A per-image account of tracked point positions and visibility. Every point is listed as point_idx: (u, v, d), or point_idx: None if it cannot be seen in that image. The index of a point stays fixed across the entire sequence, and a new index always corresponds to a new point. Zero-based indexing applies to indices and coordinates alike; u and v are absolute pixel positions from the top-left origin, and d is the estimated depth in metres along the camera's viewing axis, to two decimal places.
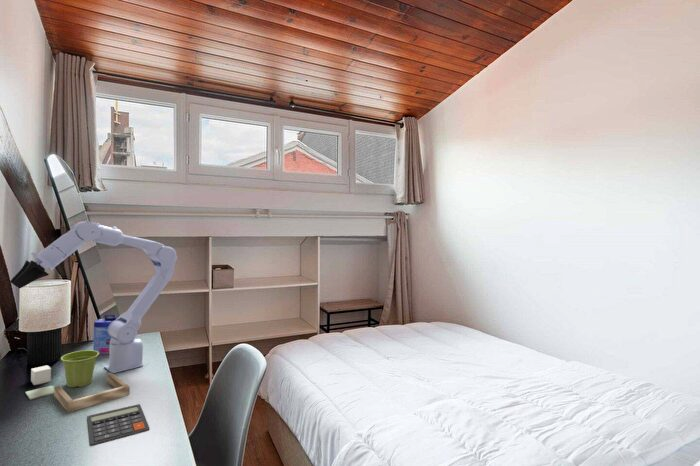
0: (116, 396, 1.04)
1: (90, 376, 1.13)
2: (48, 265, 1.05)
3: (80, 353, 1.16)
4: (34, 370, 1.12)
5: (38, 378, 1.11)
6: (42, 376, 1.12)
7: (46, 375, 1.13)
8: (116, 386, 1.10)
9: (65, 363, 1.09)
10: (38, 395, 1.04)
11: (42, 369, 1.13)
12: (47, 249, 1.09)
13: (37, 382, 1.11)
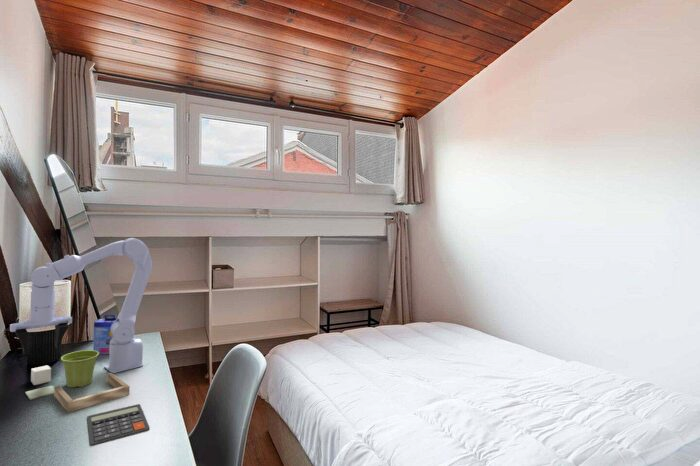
0: (116, 396, 1.04)
1: (90, 376, 1.13)
2: (10, 327, 1.07)
3: (80, 353, 1.16)
4: (34, 370, 1.12)
5: (38, 378, 1.11)
6: (42, 376, 1.12)
7: (46, 375, 1.13)
8: (116, 386, 1.10)
9: (65, 363, 1.09)
10: (38, 395, 1.04)
11: (42, 369, 1.13)
12: None
13: (37, 382, 1.11)
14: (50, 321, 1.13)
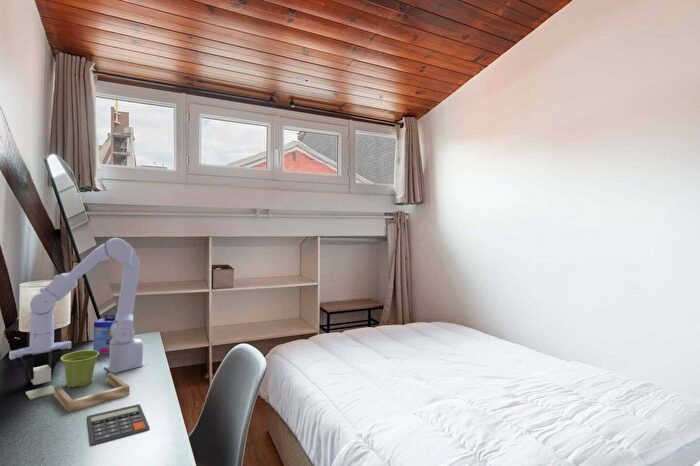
0: (116, 396, 1.04)
1: (90, 376, 1.13)
2: (10, 355, 1.07)
3: (80, 353, 1.16)
4: (34, 370, 1.12)
5: (38, 378, 1.11)
6: (42, 376, 1.12)
7: (46, 375, 1.13)
8: (116, 386, 1.10)
9: (65, 363, 1.09)
10: (38, 395, 1.04)
11: (42, 369, 1.13)
12: None
13: (37, 382, 1.11)
14: (49, 347, 1.13)
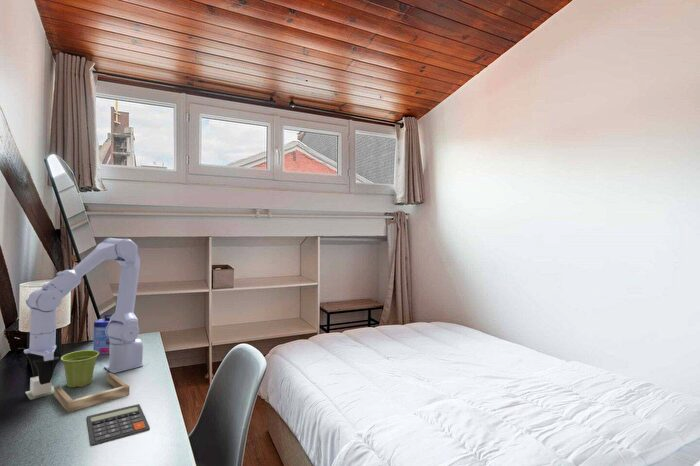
0: (116, 396, 1.04)
1: (90, 376, 1.13)
2: (51, 355, 1.02)
3: (80, 353, 1.16)
4: None
5: None
6: None
7: None
8: (116, 386, 1.10)
9: (65, 363, 1.09)
10: (38, 395, 1.04)
11: None
12: (33, 340, 1.03)
13: (50, 388, 1.07)
14: None
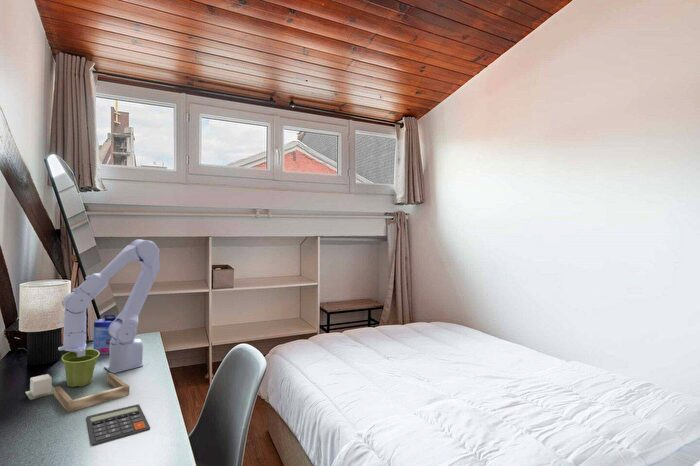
0: (116, 396, 1.04)
1: (90, 376, 1.13)
2: (83, 352, 1.12)
3: None
4: (44, 379, 1.05)
5: None
6: None
7: None
8: (116, 386, 1.10)
9: (66, 363, 1.08)
10: (38, 395, 1.04)
11: (45, 376, 1.07)
12: (67, 339, 1.14)
13: (50, 388, 1.07)
14: None
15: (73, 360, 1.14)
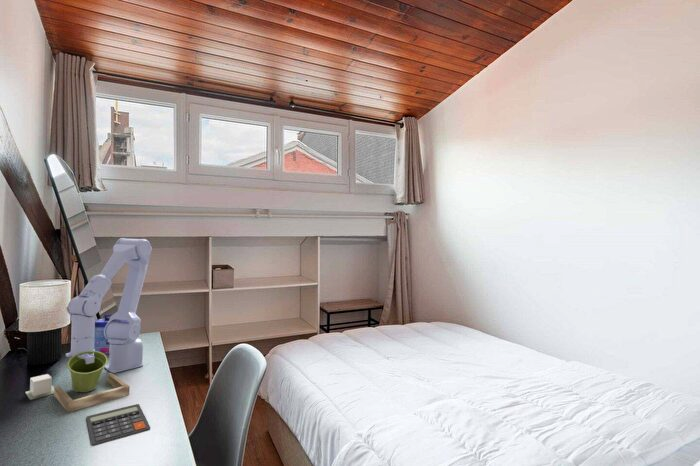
0: (116, 396, 1.04)
1: (97, 381, 1.09)
2: (92, 359, 1.07)
3: None
4: (44, 379, 1.05)
5: None
6: None
7: None
8: (116, 386, 1.10)
9: (72, 372, 1.03)
10: (38, 395, 1.04)
11: (45, 376, 1.07)
12: (75, 345, 1.09)
13: (50, 388, 1.07)
14: None
15: (79, 362, 1.09)
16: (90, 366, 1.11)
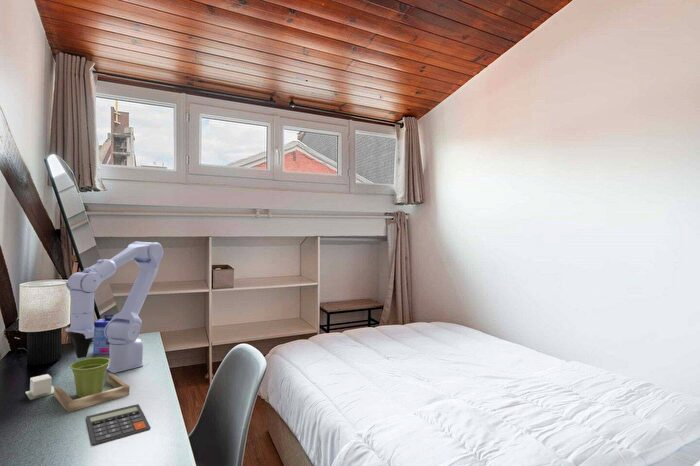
0: (116, 396, 1.04)
1: (101, 385, 1.07)
2: (92, 333, 1.08)
3: (90, 361, 1.10)
4: (44, 379, 1.05)
5: None
6: None
7: None
8: (116, 386, 1.10)
9: (75, 371, 1.03)
10: (38, 395, 1.04)
11: (45, 376, 1.07)
12: (74, 320, 1.09)
13: (50, 388, 1.07)
14: None
15: None
16: None
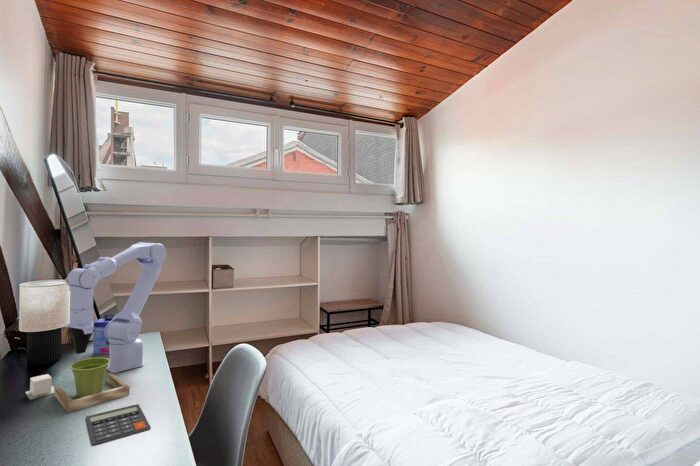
0: (116, 396, 1.04)
1: (101, 385, 1.07)
2: (91, 329, 1.08)
3: (90, 361, 1.10)
4: (44, 379, 1.05)
5: None
6: None
7: None
8: (116, 386, 1.10)
9: (75, 372, 1.03)
10: (38, 395, 1.04)
11: (45, 376, 1.07)
12: (74, 315, 1.10)
13: (50, 388, 1.07)
14: None
15: None
16: None
